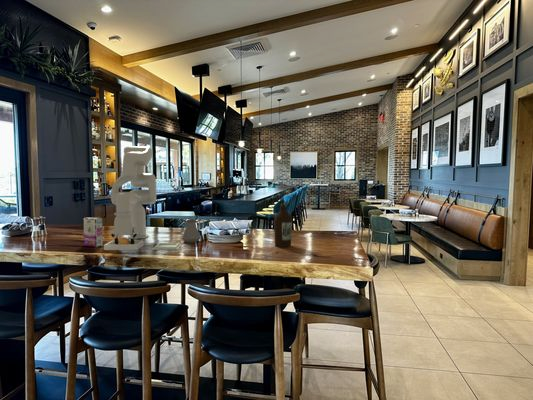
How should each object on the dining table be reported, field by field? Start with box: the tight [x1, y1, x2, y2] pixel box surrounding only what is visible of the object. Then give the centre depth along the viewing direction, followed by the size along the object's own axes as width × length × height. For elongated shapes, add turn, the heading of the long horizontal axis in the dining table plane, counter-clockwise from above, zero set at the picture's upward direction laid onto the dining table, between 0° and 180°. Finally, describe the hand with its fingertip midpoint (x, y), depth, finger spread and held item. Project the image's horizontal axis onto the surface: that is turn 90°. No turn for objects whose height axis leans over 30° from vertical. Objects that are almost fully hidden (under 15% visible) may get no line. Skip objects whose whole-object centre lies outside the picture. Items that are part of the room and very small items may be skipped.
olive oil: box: [273, 203, 293, 249], centre depth 202 cm, size 11×11×25 cm
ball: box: [118, 236, 130, 244], centre depth 197 cm, size 6×6×6 cm
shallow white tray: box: [103, 239, 145, 251], centre depth 197 cm, size 12×18×3 cm, turn 94°
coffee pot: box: [181, 214, 201, 244], centre depth 220 cm, size 21×12×15 cm, turn 176°
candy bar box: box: [83, 216, 104, 248], centre depth 202 cm, size 11×5×16 cm, turn 62°
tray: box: [151, 242, 182, 251], centre depth 199 cm, size 13×14×1 cm
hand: (124, 245), depth 197 cm, fingers open, 7 cm apart
